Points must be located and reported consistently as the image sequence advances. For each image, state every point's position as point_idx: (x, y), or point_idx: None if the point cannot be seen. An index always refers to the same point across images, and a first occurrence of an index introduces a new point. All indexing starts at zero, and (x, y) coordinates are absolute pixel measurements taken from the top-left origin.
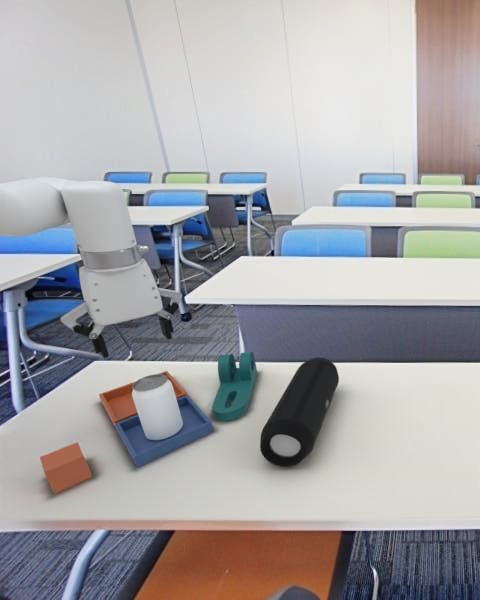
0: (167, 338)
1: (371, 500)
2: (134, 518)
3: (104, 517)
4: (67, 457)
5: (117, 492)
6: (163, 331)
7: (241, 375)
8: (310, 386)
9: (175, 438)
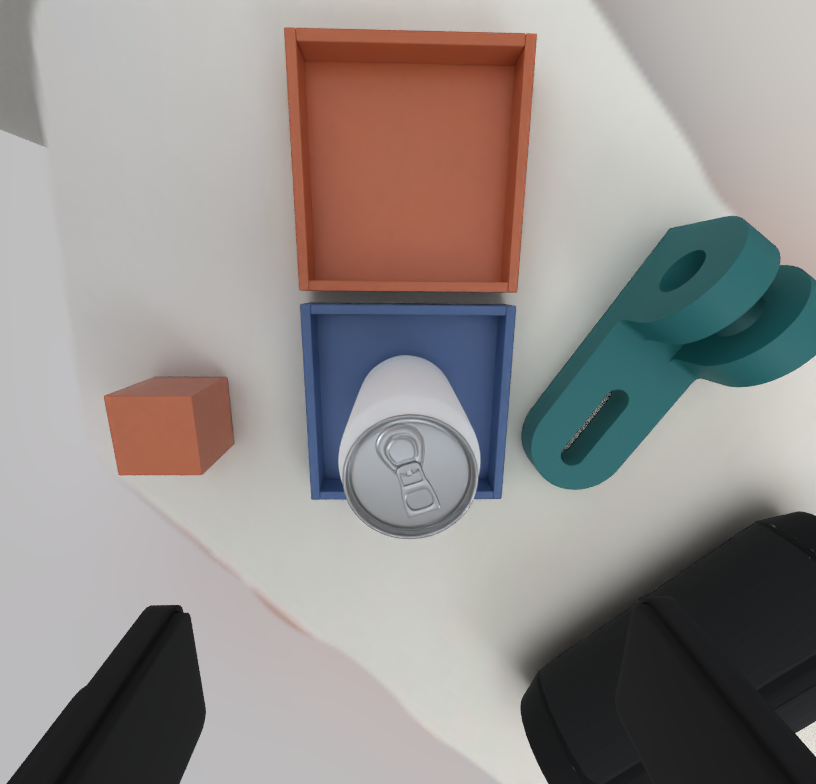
0: (619, 714)
1: None
2: (286, 613)
3: (243, 576)
4: (167, 453)
5: (271, 528)
6: (657, 698)
7: (695, 365)
8: None
9: None
